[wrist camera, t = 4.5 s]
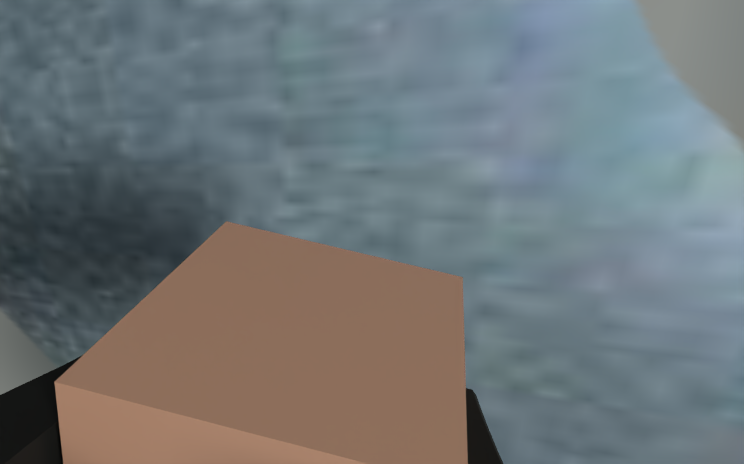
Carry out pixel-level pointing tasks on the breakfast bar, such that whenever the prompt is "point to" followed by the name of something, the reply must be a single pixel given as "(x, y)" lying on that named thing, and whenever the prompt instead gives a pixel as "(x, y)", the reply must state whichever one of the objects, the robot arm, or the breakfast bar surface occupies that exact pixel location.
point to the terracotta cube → (275, 363)
